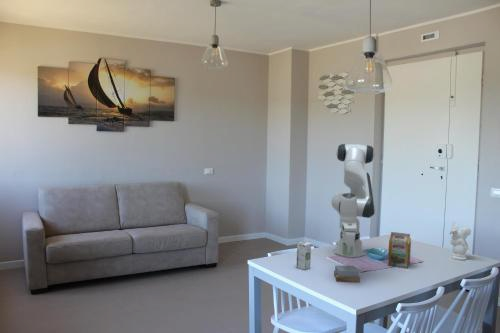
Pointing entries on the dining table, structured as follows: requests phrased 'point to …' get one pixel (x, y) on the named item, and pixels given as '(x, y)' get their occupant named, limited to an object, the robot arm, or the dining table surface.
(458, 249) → the white squirrel figurine
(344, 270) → the grey top slab
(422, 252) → the dining table surface
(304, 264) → the syrup box
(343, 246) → the sage block
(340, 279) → the walnut base slab
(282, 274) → the dining table surface
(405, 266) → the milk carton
